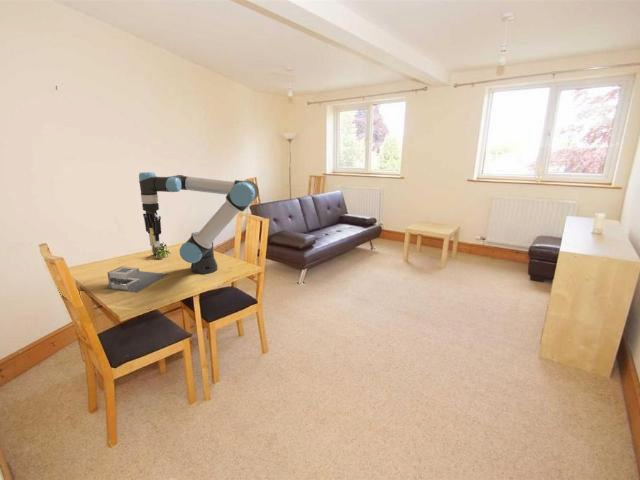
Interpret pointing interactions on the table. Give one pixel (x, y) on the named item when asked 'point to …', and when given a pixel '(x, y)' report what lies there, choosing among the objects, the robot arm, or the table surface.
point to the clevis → (123, 278)
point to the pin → (154, 249)
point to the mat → (143, 280)
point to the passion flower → (161, 251)
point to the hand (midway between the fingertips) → (155, 245)
